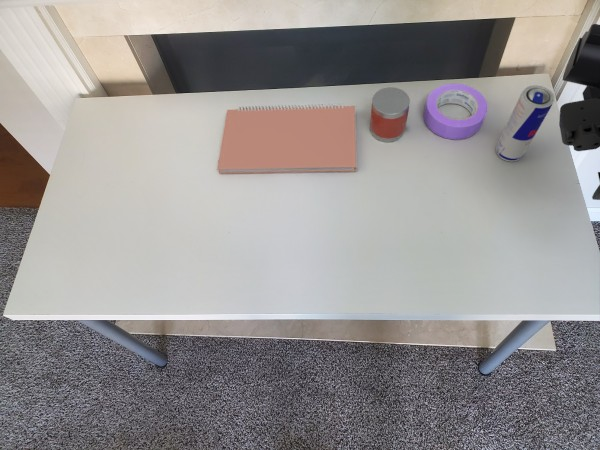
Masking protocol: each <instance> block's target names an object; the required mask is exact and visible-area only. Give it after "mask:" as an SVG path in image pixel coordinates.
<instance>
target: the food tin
mask: <svg viewBox="0 0 600 450" xmlns="http://www.w3.org/2000/svg"><path fill="white" fill-rule="evenodd" d="M410 102H411V99H410V96H409V95H408V94H407V92H406V91H405V90H404V89H401V88H399V87H391V86H390V87H383V88H381V89H379V90H378V91H376V92H375V93H374V94H373V95H372V100H371V106H370V107H371V109H370V120H369V121H370V122H369V131H370V134H371V136H372V137H373V138H374V139H375V140H377V141H379V142H382V143H394V142H397V141H398V140H400V139H401V138H403V136H404V134H405V132H406V127H407V122H408V116H409V111H410V104H411V103H410Z"/></svg>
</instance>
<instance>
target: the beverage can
mask: <svg viewBox="0 0 600 450" xmlns="http://www.w3.org/2000/svg"><path fill="white" fill-rule="evenodd" d="M519 95H520V96H519V97H518V100H517V102H516V104H515V106H514V108H513V110H512V112H511V113H510V116H509V119H508V121H507V123H506V125H505V127H504V129H503V131H502V134H501V135H500V137H499V140H498V141H497V144H496V146H495V153H496V154H497V156H498V157H499V158H500V159H502V160H504V161H505V162H517V161H519V160H521V159H522V158H523V156H524V155H525V154H526V152H527V150H528V148H529V146H530V145H531V143H532V142H533V139H534V137H536V134H537V132H538V131H539V129H540V127H542V126H541V125H542V123H543V122H544V121H545V118H546V117H547V115H548V114H549V111H550V110H551V108H552V106H553V104H554V103H555V100H556V99H555V94H554V92H553V91H552V90H551V89H550V88H548V87H546V86H543V85H540V84H533V85H528V86H526V87H524V89H523V90H522V91H521V93H520V94H519Z"/></svg>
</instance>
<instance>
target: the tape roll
mask: <svg viewBox="0 0 600 450" xmlns="http://www.w3.org/2000/svg"><path fill="white" fill-rule="evenodd" d="M448 104H452V105H453V104H455V105H459V106H462V107H463V108H465V109H466V110H468V111H469V113H470V114H471V115H470V116H468V117H465V118H452V117H449V116H447V115H445V114H444V113H442V112H441V111H440V108H439V107H441V106H443V105H444V106H445V105H448ZM488 106H489V105H488V101H487V100H486V98H485V97H484V95H483V94H482V93H481V92H480V91H479V90H477V89H475V88H474V87H472V86H470V85H467V84H463V83H446V84H442V85H440V86H438V87H436V88H434V89H433V90H432V91H431V92H430V93H429V94H428V96H427V98H426V102H425V107H424V111H423V121H424V123H425V125H426V127H427V128H428V129H429V130H430V131H431V132H432V133H434V135H437V136H438V137H441V138H444V139H449V140H464V139H468V138H470V137H473V136H474V135H476V133H477V134H478V132H479V131H480V129H481V127H482V125H483V123H484V121H485V118H486V116H487V113H488V108H489V107H488Z"/></svg>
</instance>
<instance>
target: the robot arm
mask: <svg viewBox="0 0 600 450" xmlns="http://www.w3.org/2000/svg"><path fill="white" fill-rule="evenodd" d="M562 81H564V82H568V83H573V84H576V85H581V86H585V88H584V89H583V91H582V98H583V99H581V100H577V101H570V102H566V103H564V104H562V105H561V106H560V108H559V122H558V123H559V124H558V125H559V131H560V135H561V142H562V144H564V145H565V146H569V147H570V146H572V148H573V150H574V151H576V152H584V151H591V150H598V148H600V24H597V23H593V24H591V25H590V27H589V29H588V30H587V31H585V32H584V33H583V35H582V36H581V37H579V38H578V40H577V41H576V44H575V46H574V47H573V50H572V52H571V54H570V56H569V58H568V61H567V64H566V66H565V69H564V72H563V75H562ZM597 176H598V180H599V182H600V171H598V172H597ZM591 198H592V200H595V201H600V184H599V185H598V186H597V188H596V189H595V191H594V192H593V194H592V196H591Z"/></svg>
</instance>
